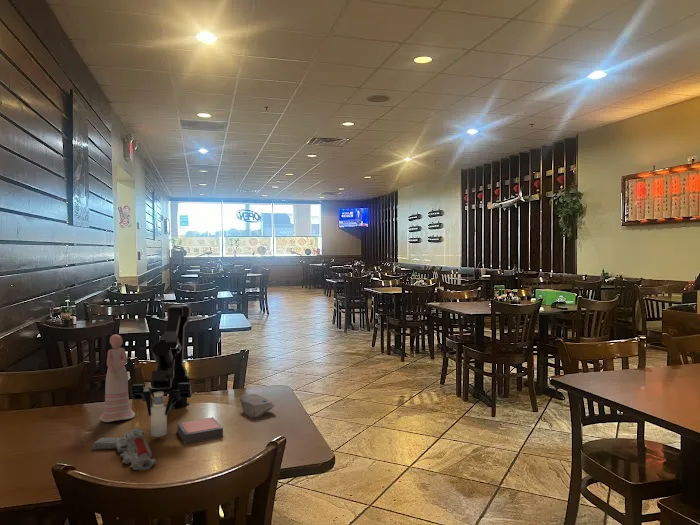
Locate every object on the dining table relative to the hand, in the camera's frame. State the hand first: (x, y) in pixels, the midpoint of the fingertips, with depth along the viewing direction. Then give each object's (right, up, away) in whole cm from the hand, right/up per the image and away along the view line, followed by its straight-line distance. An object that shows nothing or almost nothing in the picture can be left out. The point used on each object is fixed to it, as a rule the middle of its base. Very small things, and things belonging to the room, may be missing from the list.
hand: (157, 415), depth 165 cm
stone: (+26, -8, +28) cm, 40 cm away
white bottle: (0, -7, +2) cm, 7 cm away
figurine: (-23, -7, +22) cm, 32 cm away
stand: (+12, -8, +6) cm, 15 cm away
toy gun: (-6, -9, -12) cm, 16 cm away
